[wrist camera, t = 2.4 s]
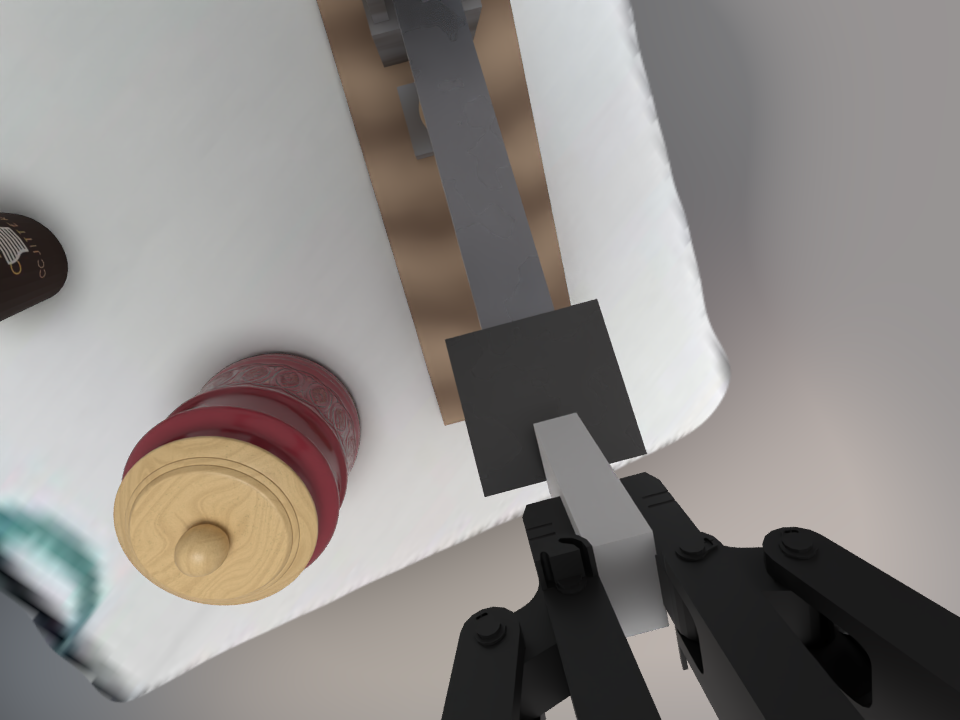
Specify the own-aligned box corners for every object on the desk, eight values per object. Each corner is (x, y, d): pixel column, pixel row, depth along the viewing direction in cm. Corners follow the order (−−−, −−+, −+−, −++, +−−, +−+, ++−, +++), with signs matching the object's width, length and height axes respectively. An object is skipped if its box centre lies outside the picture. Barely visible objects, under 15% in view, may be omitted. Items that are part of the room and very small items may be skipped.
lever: (356, -17, 27) (340, -72, 24) (471, -47, 27) (467, -105, 24) (487, 493, 22) (484, 497, 19) (629, 455, 22) (646, 453, 19)
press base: (315, -14, 35) (247, -132, 22) (491, -60, 35) (524, -205, 22) (444, 415, 45) (448, 505, 32) (580, 379, 45) (639, 454, 32)
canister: (302, 319, 42) (214, 406, 25) (392, 446, 45) (368, 594, 29) (167, 400, 43) (-6, 535, 26) (266, 517, 47) (172, 700, 30)
